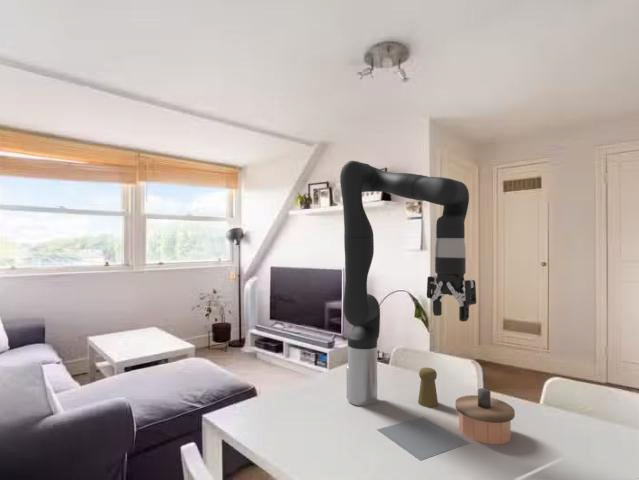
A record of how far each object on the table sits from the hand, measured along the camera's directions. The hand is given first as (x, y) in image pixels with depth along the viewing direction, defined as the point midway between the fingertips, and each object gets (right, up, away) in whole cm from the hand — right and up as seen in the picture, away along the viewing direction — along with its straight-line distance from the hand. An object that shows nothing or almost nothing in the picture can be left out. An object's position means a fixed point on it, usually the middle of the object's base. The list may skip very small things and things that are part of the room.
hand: (450, 318), depth 96 cm
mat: (-8, -30, -3) cm, 31 cm away
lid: (+9, -24, 0) cm, 25 cm away
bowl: (+9, -30, 0) cm, 31 cm away
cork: (-1, -30, +17) cm, 35 cm away
